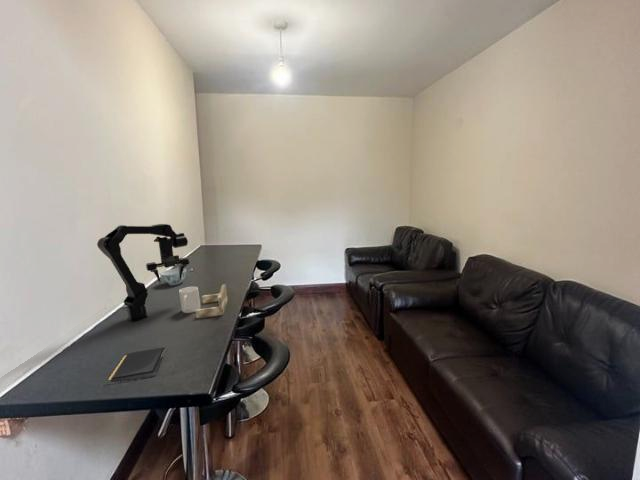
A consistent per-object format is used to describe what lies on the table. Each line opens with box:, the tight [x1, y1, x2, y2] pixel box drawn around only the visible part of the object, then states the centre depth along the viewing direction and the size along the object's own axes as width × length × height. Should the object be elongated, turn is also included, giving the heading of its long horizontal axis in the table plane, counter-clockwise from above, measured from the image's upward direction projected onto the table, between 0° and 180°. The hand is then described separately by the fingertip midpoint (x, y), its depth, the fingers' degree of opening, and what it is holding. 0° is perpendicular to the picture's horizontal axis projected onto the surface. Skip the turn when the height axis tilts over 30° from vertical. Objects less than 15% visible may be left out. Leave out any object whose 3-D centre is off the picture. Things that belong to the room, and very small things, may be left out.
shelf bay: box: [195, 283, 228, 319], centre depth 159 cm, size 12×21×8 cm, turn 10°
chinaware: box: [159, 267, 187, 286], centre depth 206 cm, size 15×15×8 cm
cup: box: [178, 285, 201, 314], centre depth 157 cm, size 8×12×10 cm
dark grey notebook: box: [107, 346, 166, 383], centre depth 111 cm, size 20×2×15 cm
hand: (170, 281), depth 166 cm, fingers open, 9 cm apart
